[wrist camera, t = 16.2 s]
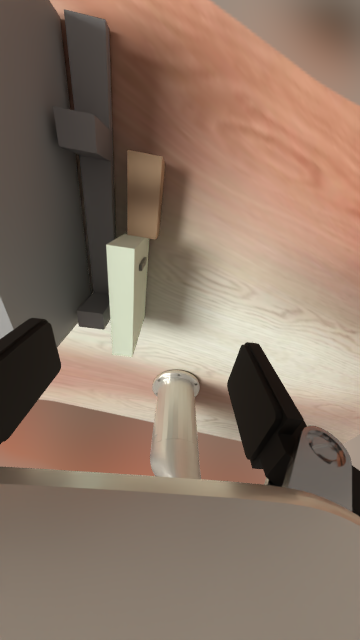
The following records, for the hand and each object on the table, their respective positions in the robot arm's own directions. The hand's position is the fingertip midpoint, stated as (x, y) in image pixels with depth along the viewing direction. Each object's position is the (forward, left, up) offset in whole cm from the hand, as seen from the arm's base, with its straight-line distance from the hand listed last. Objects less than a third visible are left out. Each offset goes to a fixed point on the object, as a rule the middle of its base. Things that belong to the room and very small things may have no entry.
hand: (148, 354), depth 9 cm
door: (-6, +5, -26) cm, 27 cm away
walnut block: (+6, +4, -26) cm, 27 cm away
